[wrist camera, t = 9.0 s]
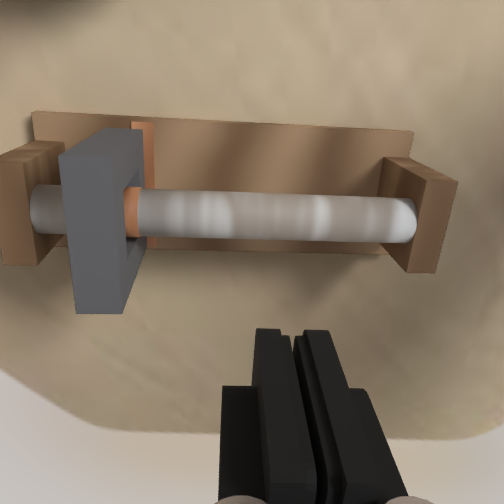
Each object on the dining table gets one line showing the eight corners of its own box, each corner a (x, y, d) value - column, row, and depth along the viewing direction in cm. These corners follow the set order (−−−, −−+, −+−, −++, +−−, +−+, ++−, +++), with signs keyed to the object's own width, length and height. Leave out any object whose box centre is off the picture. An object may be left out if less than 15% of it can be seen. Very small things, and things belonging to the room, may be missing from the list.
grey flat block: (142, 129, 24) (111, 158, 17) (146, 245, 27) (122, 314, 20) (105, 127, 24) (57, 155, 17) (113, 244, 27) (75, 313, 19)
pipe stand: (408, 130, 27) (466, 151, 21) (384, 249, 30) (429, 298, 24) (36, 111, 25) (-23, 127, 19) (53, 241, 28) (7, 292, 22)
